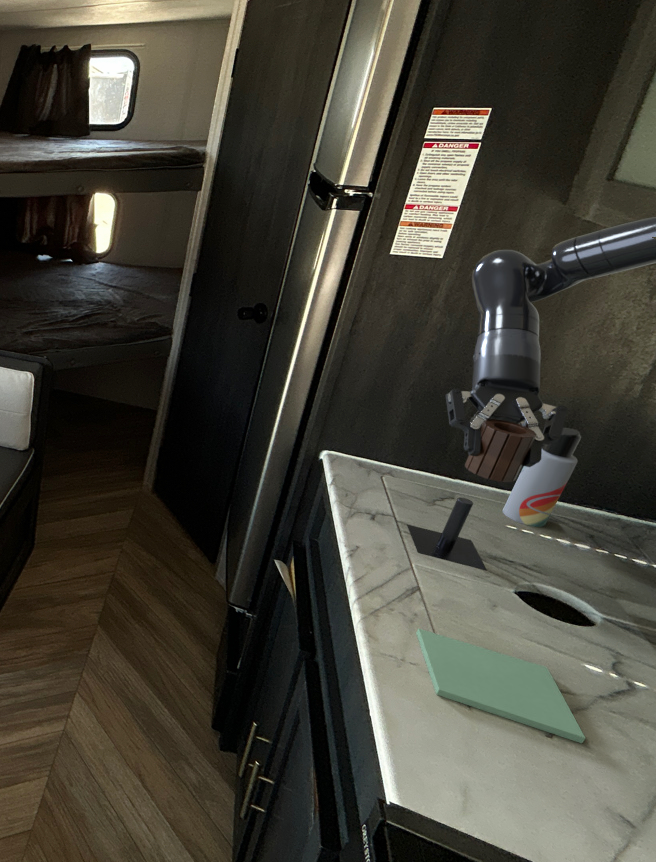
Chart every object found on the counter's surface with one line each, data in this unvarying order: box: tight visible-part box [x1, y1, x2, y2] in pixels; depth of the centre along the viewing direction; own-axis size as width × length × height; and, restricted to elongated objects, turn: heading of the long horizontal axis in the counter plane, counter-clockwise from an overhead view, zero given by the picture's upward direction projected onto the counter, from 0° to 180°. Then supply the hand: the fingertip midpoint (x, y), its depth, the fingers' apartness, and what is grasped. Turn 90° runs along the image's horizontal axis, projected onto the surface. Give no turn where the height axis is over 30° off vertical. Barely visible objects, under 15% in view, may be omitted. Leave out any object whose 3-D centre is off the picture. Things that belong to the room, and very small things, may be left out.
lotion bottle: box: [502, 426, 582, 528], centre depth 114 cm, size 6×6×20 cm
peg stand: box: [406, 496, 488, 571], centre depth 108 cm, size 9×9×11 cm
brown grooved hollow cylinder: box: [464, 419, 537, 483], centre depth 98 cm, size 6×6×8 cm
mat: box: [415, 628, 586, 744], centre depth 85 cm, size 14×12×1 cm
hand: (501, 459), depth 97 cm, fingers closed on brown grooved hollow cylinder, 5 cm apart
